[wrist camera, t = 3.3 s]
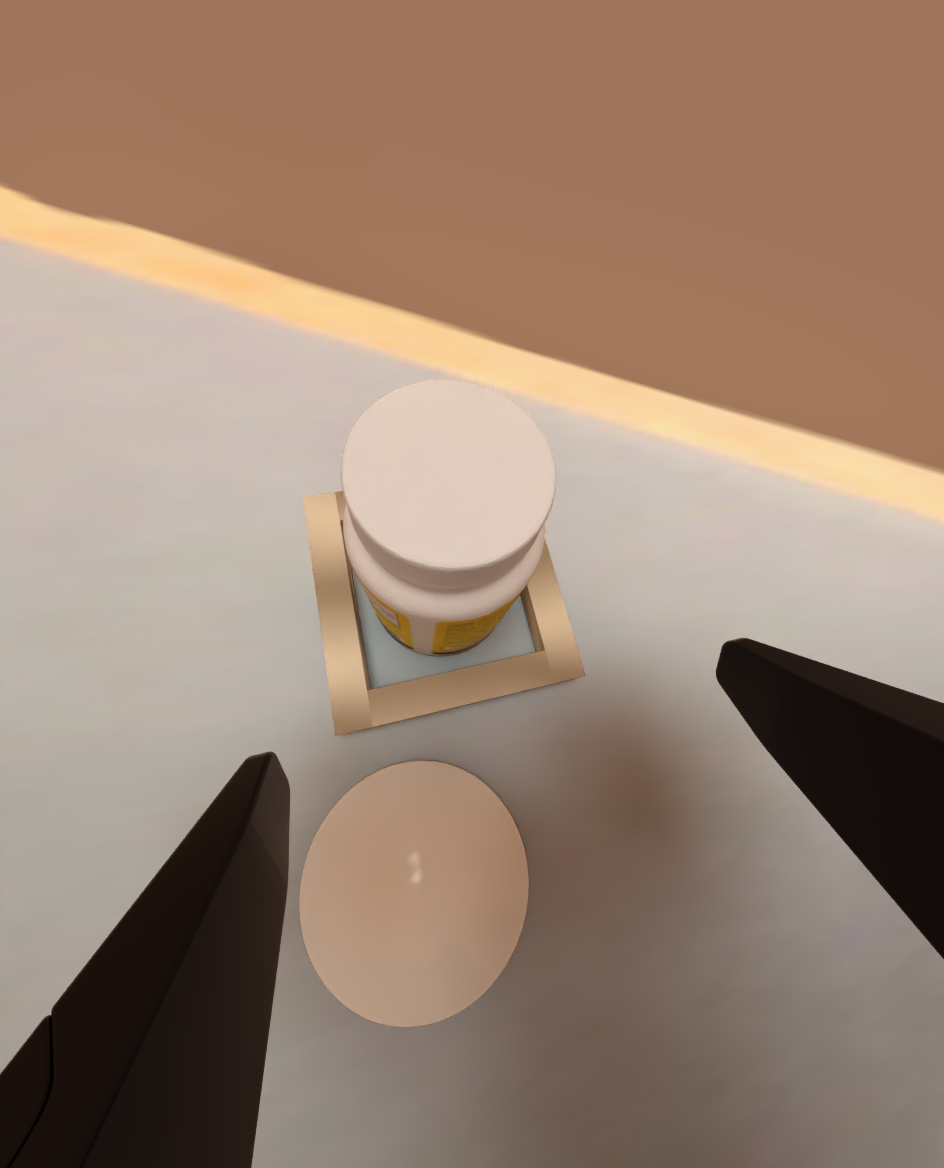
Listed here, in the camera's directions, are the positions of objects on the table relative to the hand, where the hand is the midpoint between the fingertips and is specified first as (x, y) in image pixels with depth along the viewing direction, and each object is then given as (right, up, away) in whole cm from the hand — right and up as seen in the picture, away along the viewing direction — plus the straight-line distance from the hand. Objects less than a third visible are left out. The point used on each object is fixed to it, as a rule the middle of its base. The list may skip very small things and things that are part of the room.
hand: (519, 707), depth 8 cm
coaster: (-3, -10, +9) cm, 14 cm away
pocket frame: (-3, +2, +13) cm, 13 cm away
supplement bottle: (-3, +2, +13) cm, 14 cm away
